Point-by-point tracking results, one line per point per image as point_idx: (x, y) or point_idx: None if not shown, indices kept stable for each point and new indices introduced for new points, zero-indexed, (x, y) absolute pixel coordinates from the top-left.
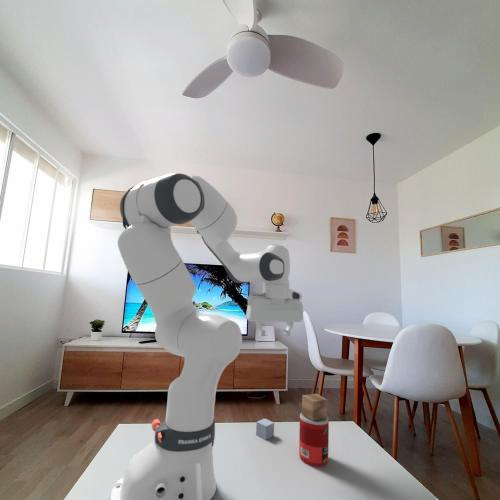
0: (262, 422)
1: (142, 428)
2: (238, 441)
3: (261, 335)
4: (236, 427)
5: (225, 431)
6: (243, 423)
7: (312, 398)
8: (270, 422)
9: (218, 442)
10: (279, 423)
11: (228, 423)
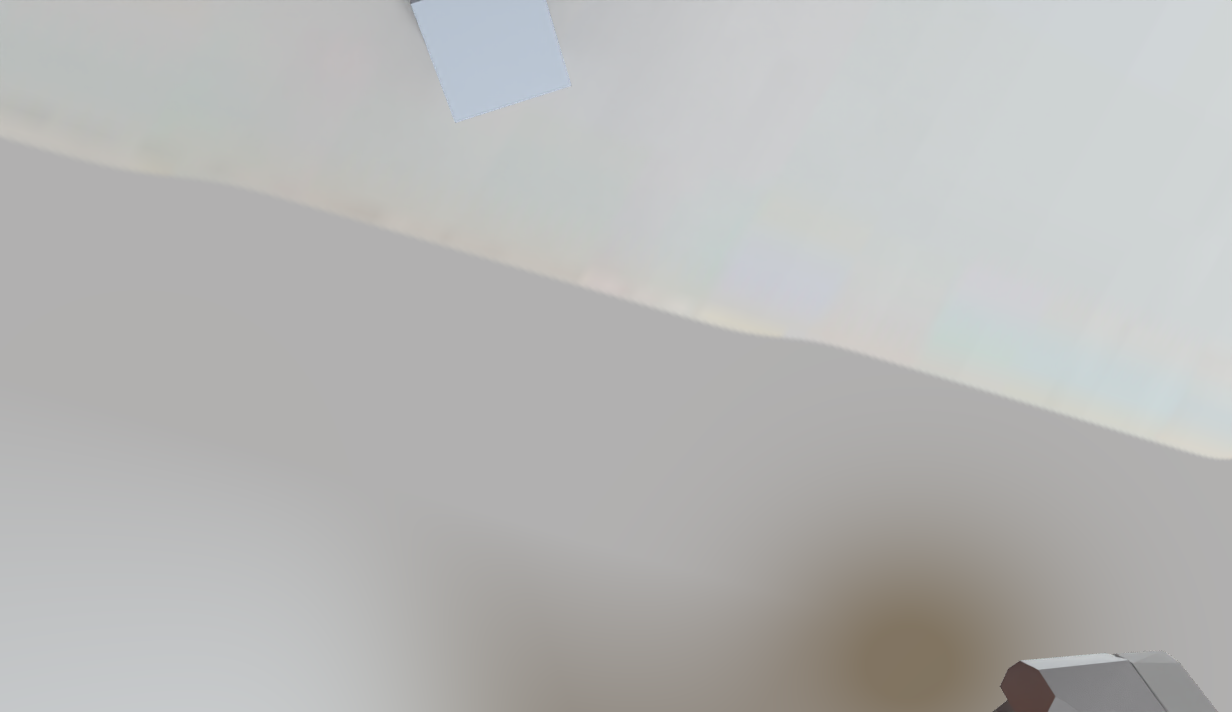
0: (524, 52)
1: (1195, 389)
2: (749, 6)
3: (1160, 651)
4: (645, 220)
5: (758, 189)
6: (557, 264)
7: None
8: (446, 22)
9: (892, 52)
10: (231, 166)
11: (671, 298)
